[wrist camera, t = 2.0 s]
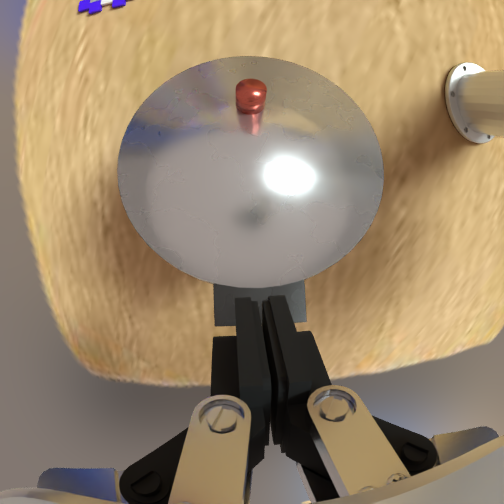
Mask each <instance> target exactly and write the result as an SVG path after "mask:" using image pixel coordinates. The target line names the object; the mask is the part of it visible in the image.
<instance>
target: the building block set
mask: <svg viewBox="0 0 504 504" xmlns="http://www.w3.org/2000/svg"><path fill="white" fill-rule="evenodd" d="M108 4H112V7H113V8H116V7H120V6H125V5H126V0H83V1H80V3H79V10H78V11H79V12H83V11H86V10H89V14H93V13H96V12H100V11H102V6H104V5H108Z"/></svg>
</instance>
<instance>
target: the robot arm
mask: <svg viewBox="0 0 504 504" xmlns="http://www.w3.org/2000/svg"><path fill="white" fill-rule="evenodd" d="M445 98H446V105H447V109H448V112H449V115H450V118H451V120H452V122H453V124H454V126H455V127H456V129H457V130H458V132H459V133H460V134H461V135H462V136H463V137H464V138H466V139H467V140H469V141H471V142H474V143H486V142H489V141H490V140H492V139H493V138H494V136H498V137H504V70H494V71H485V70H484V69H483V68H481V67H480V66H478V65H476V64H473V63H460V64H458V65H456V66H455V67H454V68H452V70H451V71H450V73H449V74H448V77H447V80H446V86H445ZM235 316H236V335H237V336H219V337H213V349H212V372H211V397H208V398H206V399H204V400H203V401H201V402H200V403H199V404H198V405H197V406H196V407H195V409H194V412H193V414H192V417H191V421H190V424H189V427H188V428H187V429H185V430H184V431H182V432H181V433H179V434H178V435H177V436H175V437H174V438H172V439H171V440H169V441H168V442H166V443H165V444H163V445H162V446H160V447H159V448H157V449H156V450H154V451H153V452H151V453H150V454H148V455H146V456H145V457H143V458H142V459H140V460H139V461H137V462H135V463H134V464H132V465H131V466H129V467H128V468H127V469H126V470H119V471H116V470H115V469H114V468H93V469H92V468H91V469H89V468H86V469H85V468H49V469H48V470H46V471H44V472H43V473H42V474H41V475H40V477H39V480H38V484H37V488H14V489H9V490H4V491H1V492H0V504H250V494H251V484H252V474H253V468H254V467H255V466H256V465H257V464H258V463H259V462H260V461H262V459H264V448H265V445H269V430H270V424H271V431H272V437H273V442H274V445H277V444H280V447H281V453H286V456H287V457H289V458H291V459H292V460H294V461H296V466H297V469H298V472H299V474H300V477H301V479H302V482H303V484H304V487H305V489H306V491H307V494H308V496H309V499H310V501H311V503H310V504H504V435H503V436H500V437H499V436H498V434H497V432H496V431H494V430H493V429H492V428H489V427H487V426H485V427H476V428H472V429H467V430H462V431H457V432H451V433H446V434H439V435H434V436H433V437H432V438H431V439H428V438H426V437H424V436H422V435H420V434H417V433H415V432H412V431H409V430H406V429H404V428H401V427H399V426H396V425H394V424H391V423H389V422H386V421H384V420H381V419H379V418H377V417H374V416H372V415H371V414H370V412H369V411H368V409H367V408H366V406H365V405H364V403H363V402H362V400H361V399H360V397H359V396H358V395H357V394H356V393H355V392H354V391H352V390H350V389H349V388H346V387H343V386H336V385H332V384H331V382H330V379H329V376H328V374H327V371H326V368H325V366H324V363H323V360H322V358H321V355H320V353H319V350H318V347H317V345H316V342H315V340H314V337H313V334H312V333H311V331H302V332H297V331H296V328H295V325H294V322H293V318H292V315H291V312H290V309H289V306H288V303H287V300H286V297H285V295H276V296H268V300H263V301H262V325H261V319H260V313H259V307H258V301H251V297H237V298H235Z"/></svg>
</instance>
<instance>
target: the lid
mask: <svg viewBox="0 0 504 504" xmlns="http://www.w3.org/2000/svg"><path fill="white" fill-rule="evenodd" d="M117 173H118V186H119V191H120V195H121V200H122V203H123V205H124V208H125V211H126V213H127V215H128V218H129V219H130V221H131V223H132V224H133V226H134V228H135V229H136V231H137V232H138V234H139V235H140V236H141V237H142V238H143V240H144V241H145V242H146V243H147V245H148V246H149V247H151V248H152V249H153V250H154V251H155V252H156V253H157V254H158V255H159V256H161V257H162V258H163V259H164V260H165V261H167V262H168V263H170V264H171V265H173V266H174V267H176V268H177V269H179V270H180V271H182V272H184V273H186V274H188V275H190V276H192V277H194V278H196V279H198V280H201V281H204V282H207V283H211V284H213V287H214V318H215V326H236V316H235V298H237V297H251V301H258V307H259V313H260V319H261V325H262V301H263V300H268V296H276V295H285V297H286V300H287V303H288V306H289V309H290V312H291V315H292V318H293V322H294V323H298V322H307V320H306V301H305V285H304V280H305V279H308V278H310V277H313V276H315V275H317V274H318V273H320V272H322V271H323V270H325V269H327V268H328V267H330V266H332V265H334V264H335V263H337V262H338V261H339V260H340V259H342V258H343V257H344V256H345V255H347V254H348V253H349V252H350V251H351V250H352V249H353V248H354V247H355V246H356V245H357V243H358V242H359V241H360V240H361V239H362V238H363V236H364V235H365V233H366V232H367V230H368V229H369V227H370V226H371V224H372V222H373V219H374V217H375V215H376V213H377V211H378V208H379V204H380V200H381V197H382V191H383V183H384V168H383V160H382V154H381V149H380V146H379V143H378V140H377V137H376V135H375V133H374V130H373V128H372V126H371V124H370V122H369V121H368V119H367V118H366V116H365V115H364V113H363V112H362V110H361V109H360V108H359V107H358V105H357V104H356V103H355V102H354V101H353V100H352V99H351V98H350V97H349V96H348V95H347V94H346V93H345V92H344V91H343V90H342V89H341V88H339V87H338V86H337V85H335V84H334V83H333V82H331V81H330V80H328V79H327V78H325V77H323V76H322V75H320V74H318V73H316V72H314V71H312V70H310V69H308V68H306V67H303V66H300V65H297V64H295V63H292V62H288V61H284V60H280V59H275V58H268V57H257V56H240V57H229V58H222V59H217V60H213V61H209V62H206V63H202V64H200V65H197V66H194V67H192V68H189V69H187V70H185V71H183V72H181V73H179V74H177V75H176V76H174V77H173V78H171V79H170V80H168V81H166V82H165V83H164V84H162V85H161V86H160V87H159V88H158V89H156V90H155V91H154V92H153V93H152V94H151V95H150V96H149V97H148V98H147V99H146V100H145V101H144V102H143V104H142V105H141V106H140V108H139V109H138V110H137V112H136V113H135V114H134V116H133V118H132V120H131V121H130V123H129V125H128V127H127V129H126V132H125V134H124V137H123V139H122V143H121V147H120V151H119V156H118V168H117Z"/></svg>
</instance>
